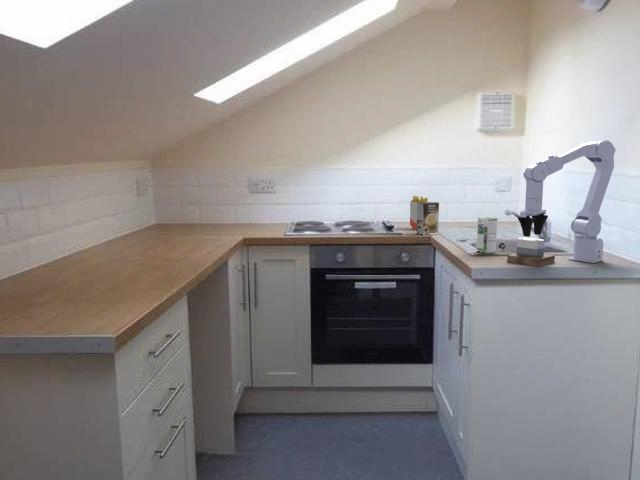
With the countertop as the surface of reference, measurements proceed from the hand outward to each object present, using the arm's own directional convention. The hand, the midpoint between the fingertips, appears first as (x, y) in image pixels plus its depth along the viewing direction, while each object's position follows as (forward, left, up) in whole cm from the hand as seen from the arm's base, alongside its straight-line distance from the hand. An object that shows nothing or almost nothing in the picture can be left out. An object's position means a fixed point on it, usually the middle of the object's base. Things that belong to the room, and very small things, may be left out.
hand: (532, 235), depth 196 cm
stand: (0, 0, -10) cm, 10 cm away
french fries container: (+85, -38, -10) cm, 94 cm away
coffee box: (+72, -28, -10) cm, 78 cm away
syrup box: (+23, -6, -10) cm, 26 cm away
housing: (0, 0, -7) cm, 7 cm away
